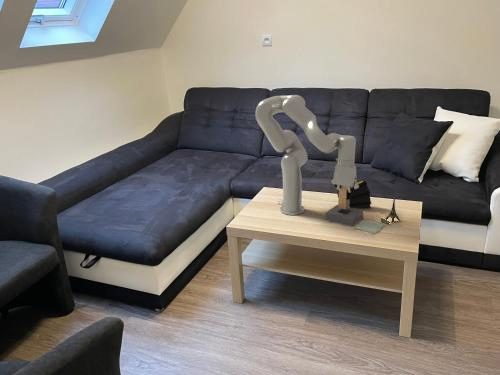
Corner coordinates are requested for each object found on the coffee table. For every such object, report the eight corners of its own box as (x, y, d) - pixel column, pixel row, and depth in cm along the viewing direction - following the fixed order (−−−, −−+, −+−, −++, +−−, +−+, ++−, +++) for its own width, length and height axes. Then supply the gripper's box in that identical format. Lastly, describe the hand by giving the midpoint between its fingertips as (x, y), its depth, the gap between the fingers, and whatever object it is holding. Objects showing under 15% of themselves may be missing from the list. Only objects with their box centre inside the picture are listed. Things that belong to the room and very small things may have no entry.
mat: (355, 228, 201) (355, 227, 201) (364, 220, 208) (364, 219, 208) (375, 233, 195) (375, 232, 195) (384, 225, 202) (384, 224, 202)
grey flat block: (325, 219, 211) (325, 212, 210) (337, 211, 220) (337, 204, 218) (352, 226, 203) (352, 218, 201) (362, 217, 211) (363, 210, 210)
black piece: (377, 205, 221) (365, 181, 217) (353, 215, 224) (341, 191, 220) (376, 203, 224) (364, 178, 220) (352, 212, 228) (340, 188, 224)
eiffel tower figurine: (380, 213, 217) (382, 188, 212) (401, 215, 214) (404, 190, 209) (380, 226, 203) (382, 199, 199) (402, 227, 201) (405, 201, 196)
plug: (338, 207, 209) (339, 188, 205) (341, 204, 212) (342, 185, 208) (345, 209, 207) (346, 190, 203) (349, 206, 210) (350, 187, 206)
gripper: (326, 161, 203) (325, 197, 210) (359, 167, 194) (356, 204, 200) (333, 157, 209) (332, 192, 215) (366, 163, 199) (363, 199, 206)
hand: (344, 197), depth 208 cm, fingers closed on plug, 4 cm apart
